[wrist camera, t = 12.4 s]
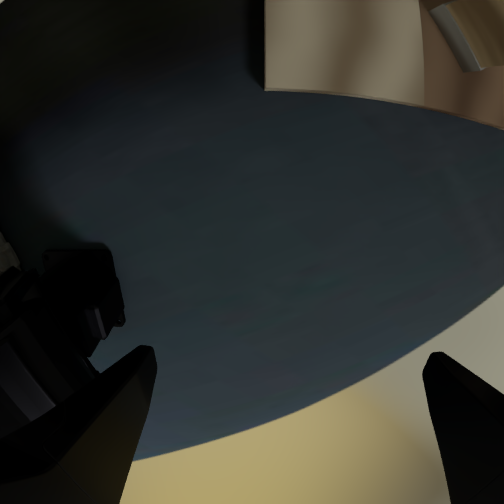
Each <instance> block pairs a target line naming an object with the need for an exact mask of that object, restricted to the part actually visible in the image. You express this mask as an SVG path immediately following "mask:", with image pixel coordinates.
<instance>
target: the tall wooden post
mask: <svg viewBox="0 0 504 504" xmlns="http://www.w3.org/2000/svg"><path fill="white" fill-rule="evenodd" d="M428 13H429V14H430V16H431V17H432V19H433V20H434V22H435V23H436V25H437V27H438V28H439V30H440V31H441V33H442V35H443V36H444V38H445V40H446V42H447V43H448V45H449V47H450V48H451V50H452V52H453V54H454V56H455V58H456V59H457V61H458V63H459V65H460V67H461V69H462V71H463V73H465V72H473V71H481V70H483V69H485V68H486V67H494V66H504V0H453V1H450V2H447V3H445V4H442V5H440V6H438V7H436V8H434V9H432V10H430V11H428Z"/></svg>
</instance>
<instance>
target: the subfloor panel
mask: <svg viewBox="0 0 504 504" xmlns="http://www.w3.org/2000/svg"><path fill="white" fill-rule="evenodd" d="M450 1H453V0H264V28H265V89H264V91H292V92H309V93H322V94H333V95H343V96H352V97H360V98H367V99H374V100H381V101H387V102H393V103H399V104H404V105H409V106H414V107H419V108H424V109H429V110H433V111H437V112H442V113H446V114H450V115H454V116H458V117H461V118H465V119H469V120H472V121H476V122H479V123H482V124H486V125H489V126H492V127H495V128H498V129H501V130H504V66H494V67H486V68H485V69H483V70H481V71H473V72H465V73H463V71H462V69H461V67H460V65H459V63H458V61H457V59H456V58H455V56H454V54H453V52H452V50H451V48H450V47H449V45H448V43H447V42H446V40H445V38H444V36H443V35H442V33H441V31H440V30H439V28H438V27H437V25H436V23H435V22H434V20H433V19H432V17H431V16H430V14H429V13H428V11H430V10H432V9H434V8H436V7H438V6H440V5H442V4H445V3H447V2H450Z"/></svg>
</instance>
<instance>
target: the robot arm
mask: <svg viewBox="0 0 504 504" xmlns="http://www.w3.org/2000/svg"><path fill="white" fill-rule="evenodd" d="M47 255H48V257H49V258H48V257H47ZM103 255H106V256H107V259H105V258H104V256H103ZM42 259H43V263H44V267H45V271H46V272H45V273H44V274H43V275H42V276H40V277H39V274H38V272H37V270H36V268H34V269H32V270H30V271H24V272H23V271H20V270H19V269H17V268H16V267H14V266H11V267H9V268H7V269H6V270H5V271H3V272H2V273H1V274H0V504H119V503H120V499H121V496H122V493H123V489H124V486H125V483H126V480H127V476H128V473H129V470H130V467H131V464H132V460H133V457H134V454H135V451H136V448H137V445H138V442H139V439H140V436H141V433H142V430H143V427H144V424H145V421H146V418H147V415H148V411H149V407H150V402H151V397H152V393H153V388H154V383H155V379H156V374H157V362H156V358H155V353H154V349H153V347H151V346H146V345H139V346H138V347H136V348H135V349H134V350H132V351H131V352H130V353H128V354H127V355H125V356H124V357H123V358H121V359H120V360H119V361H117V362H116V363H114V364H113V365H112V366H110V367H109V368H108V369H106V370H105V371H103V372H102V373H101V374H100V373H99V371H96V370H95V368H94V367H93V365H92V364H91V363H90V361H89V360H88V358H87V357H91V356H92V354H93V352H94V350H95V349H96V347H97V345H98V343H99V342H100V340H105V339H106V338H107V337H108V335H109V333H110V331H111V330H112V328H113V326H115V327H122V326H123V325H124V323H125V321H126V319H125V315H124V311H123V309H124V302H123V298H122V293H121V288H120V283H119V279H118V278H117V277H116V273H115V268H114V262H113V257H112V254H111V252H110V251H109V250H106V249H89V250H46V251H44V252H43V253H42ZM118 319H119V320H120V321H121V322H120V321H118ZM422 376H423V382H424V387H425V392H426V397H427V402H428V407H429V412H430V416H431V420H432V424H433V427H434V431H435V434H436V438H437V442H438V446H439V450H440V454H441V458H442V462H443V466H444V471H445V476H446V481H447V485H448V490H449V496H450V501H451V504H504V394H502V393H501V392H499V391H498V390H497V389H495V388H494V387H492V386H491V385H490V384H488V383H487V382H485V381H484V380H482V379H481V378H480V377H478V376H477V375H475V374H474V373H472V372H471V371H470V370H468V369H467V368H465V367H464V366H462V365H461V364H460V363H458V362H457V361H455V360H454V359H452V358H451V357H449V356H448V355H447V354H445V353H444V352H433V353H431V354H430V356H429V358H428V360H427V363H426V365H425V367H424V369H423V373H422Z"/></svg>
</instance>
